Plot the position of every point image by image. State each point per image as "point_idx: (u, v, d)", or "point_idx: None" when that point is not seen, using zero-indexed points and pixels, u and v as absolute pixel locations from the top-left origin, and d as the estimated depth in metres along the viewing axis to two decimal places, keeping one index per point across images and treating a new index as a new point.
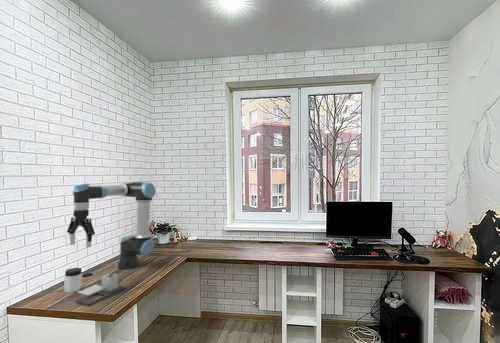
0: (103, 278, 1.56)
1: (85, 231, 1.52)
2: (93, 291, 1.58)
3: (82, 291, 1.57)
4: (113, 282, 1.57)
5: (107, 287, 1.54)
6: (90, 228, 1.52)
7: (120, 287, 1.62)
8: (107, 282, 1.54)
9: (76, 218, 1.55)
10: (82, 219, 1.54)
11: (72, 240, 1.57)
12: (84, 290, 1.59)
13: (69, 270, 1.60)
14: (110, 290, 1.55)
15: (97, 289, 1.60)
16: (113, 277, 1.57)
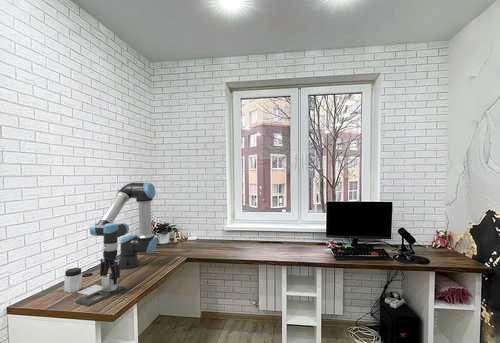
0: (103, 278, 1.56)
1: None
2: (93, 291, 1.58)
3: (82, 291, 1.57)
4: None
5: (107, 287, 1.54)
6: (117, 271, 1.55)
7: (120, 287, 1.62)
8: (107, 282, 1.54)
9: (105, 258, 1.58)
10: (112, 259, 1.56)
11: None
12: (84, 290, 1.59)
13: (69, 270, 1.60)
14: (110, 290, 1.55)
15: (97, 289, 1.60)
16: None
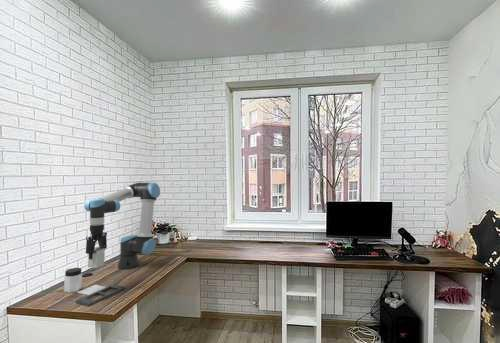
0: None
1: None
2: (93, 291, 1.58)
3: (82, 291, 1.57)
4: None
5: None
6: (87, 247, 1.55)
7: (120, 287, 1.62)
8: None
9: None
10: None
11: None
12: (84, 290, 1.59)
13: (69, 270, 1.60)
14: None
15: (97, 289, 1.60)
16: None
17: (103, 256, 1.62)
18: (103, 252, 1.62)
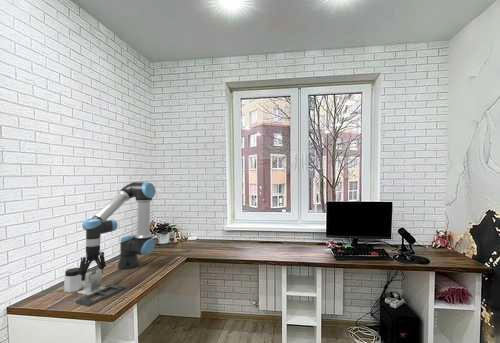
0: None
1: None
2: (93, 291, 1.58)
3: (82, 291, 1.57)
4: (87, 280, 1.58)
5: None
6: (80, 267, 1.54)
7: (120, 287, 1.62)
8: None
9: None
10: None
11: None
12: None
13: (69, 270, 1.60)
14: (85, 287, 1.58)
15: None
16: (87, 275, 1.58)
17: (99, 280, 1.61)
18: (99, 276, 1.61)
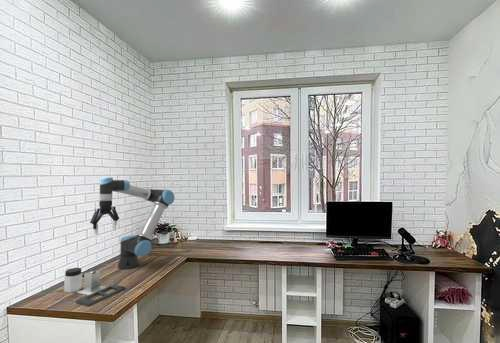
0: None
1: None
2: (93, 291, 1.58)
3: (82, 291, 1.57)
4: (87, 280, 1.58)
5: None
6: (93, 217, 1.69)
7: (120, 287, 1.62)
8: None
9: None
10: None
11: (113, 226, 1.83)
12: None
13: (69, 270, 1.60)
14: (85, 287, 1.58)
15: None
16: (87, 275, 1.58)
17: (99, 280, 1.61)
18: (99, 276, 1.61)
